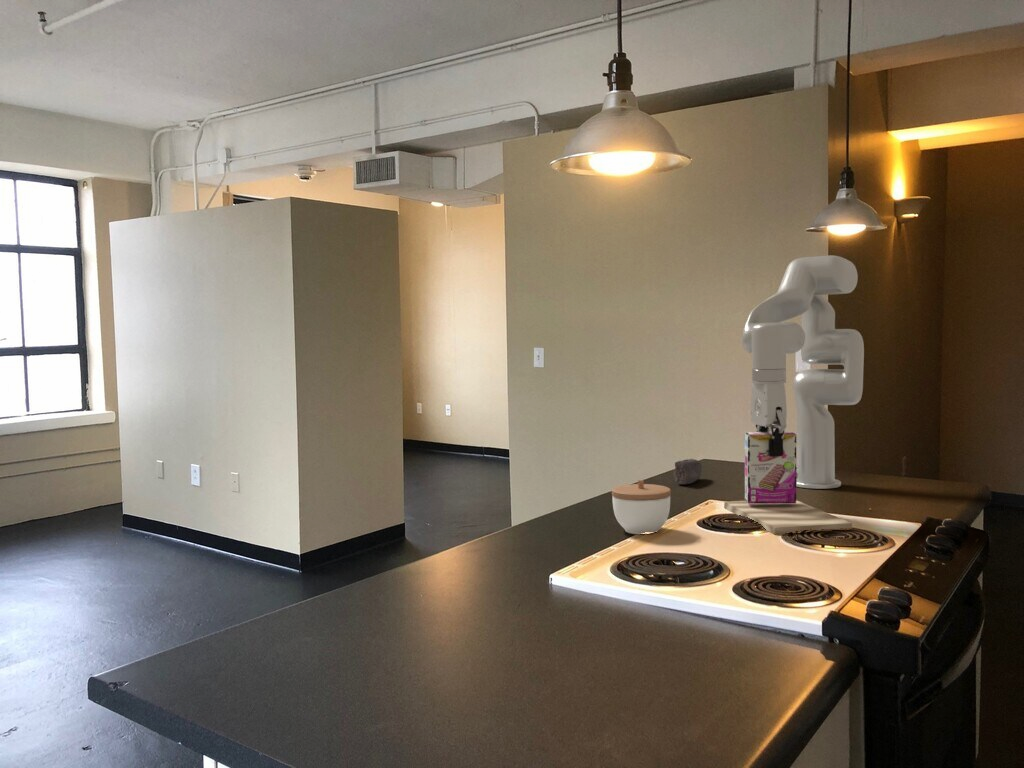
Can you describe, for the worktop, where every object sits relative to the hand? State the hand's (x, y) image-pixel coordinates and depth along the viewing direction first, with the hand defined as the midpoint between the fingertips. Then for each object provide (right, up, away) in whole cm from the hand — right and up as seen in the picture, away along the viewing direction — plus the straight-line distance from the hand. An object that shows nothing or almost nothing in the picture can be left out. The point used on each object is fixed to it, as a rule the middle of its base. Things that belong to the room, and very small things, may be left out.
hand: (770, 453), depth 193 cm
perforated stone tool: (-10, -12, +42) cm, 45 cm away
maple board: (+1, -14, -6) cm, 16 cm away
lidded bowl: (-32, -16, -14) cm, 39 cm away
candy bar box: (0, -12, +1) cm, 12 cm away
